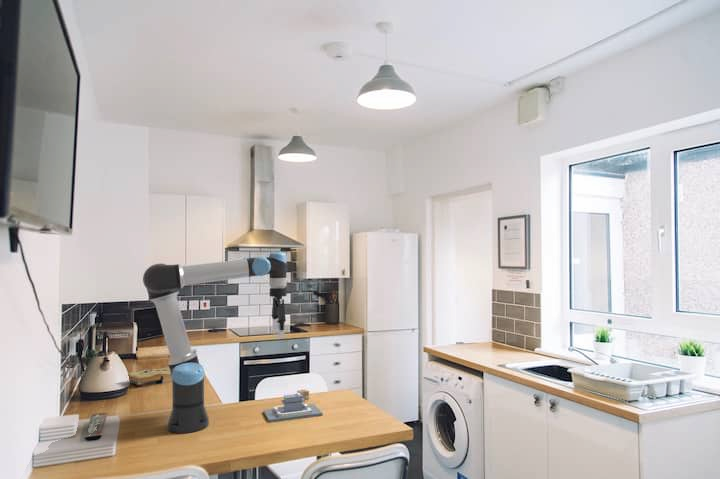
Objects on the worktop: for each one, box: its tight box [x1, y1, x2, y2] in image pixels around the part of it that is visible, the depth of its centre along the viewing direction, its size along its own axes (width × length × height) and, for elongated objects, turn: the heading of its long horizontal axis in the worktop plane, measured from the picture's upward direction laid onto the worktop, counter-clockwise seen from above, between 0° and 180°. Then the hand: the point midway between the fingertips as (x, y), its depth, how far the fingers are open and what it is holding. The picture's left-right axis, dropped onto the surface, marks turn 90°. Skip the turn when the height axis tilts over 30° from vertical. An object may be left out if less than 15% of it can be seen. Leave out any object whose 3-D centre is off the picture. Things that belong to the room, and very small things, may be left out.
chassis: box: [262, 402, 324, 423], centre depth 206 cm, size 22×14×2 cm, turn 110°
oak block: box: [296, 389, 310, 401], centre depth 227 cm, size 4×4×4 cm
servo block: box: [280, 392, 306, 413], centre depth 206 cm, size 9×4×7 cm, turn 110°
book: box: [127, 366, 172, 388], centre depth 265 cm, size 25×17×6 cm
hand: (278, 335), depth 219 cm, fingers open, 13 cm apart
